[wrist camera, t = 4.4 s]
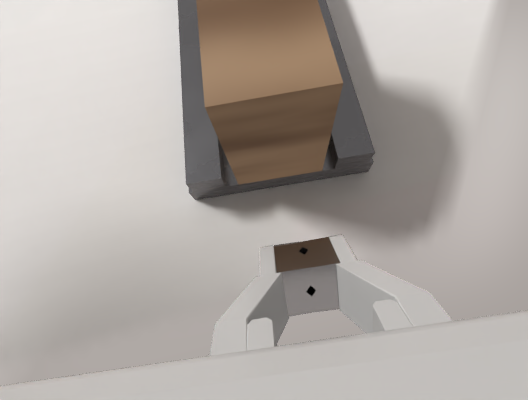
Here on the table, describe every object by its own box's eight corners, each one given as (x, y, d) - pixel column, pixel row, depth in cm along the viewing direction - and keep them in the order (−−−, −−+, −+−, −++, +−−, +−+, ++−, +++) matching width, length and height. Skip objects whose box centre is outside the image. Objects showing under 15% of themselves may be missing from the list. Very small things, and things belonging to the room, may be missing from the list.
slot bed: (367, 171, 17) (379, 151, 15) (195, 199, 18) (181, 184, 16) (301, -46, 25) (303, -80, 23) (182, -23, 26) (172, -54, 23)
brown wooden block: (322, 170, 16) (343, 82, 10) (238, 184, 17) (204, 107, 10) (292, 46, 20) (293, -79, 13) (223, 58, 20) (191, -59, 14)
